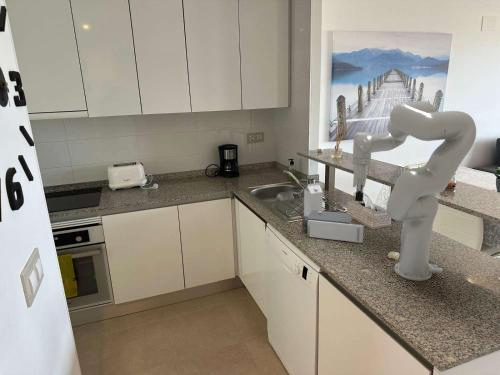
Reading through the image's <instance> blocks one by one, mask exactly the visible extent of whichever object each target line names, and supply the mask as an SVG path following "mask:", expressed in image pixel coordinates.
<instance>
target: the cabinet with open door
mask: <svg viewBox="0 0 500 375" xmlns="http://www.w3.org/2000/svg"><path fill="white" fill-rule="evenodd" d="M352 214H353V213H350V212H349V213H348V212H338V211H335V212H334V211H325V210H322V211H316V210H312V211H311V213H310V215H309V216H304V215H303V217H302V222H301V225H302V226H301V227H302V229H304V230H305V229H306V236H307V237H308V220H314V221H324V222H334V223H344V224H352V220H353V218H352V217H353V215H352Z"/></svg>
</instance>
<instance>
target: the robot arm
mask: <svg viewBox="0 0 500 375" xmlns="http://www.w3.org/2000/svg"><path fill="white" fill-rule="evenodd" d="M408 136H409V137H413V138H415V139H417V140H420V141H424V142H430V141H431V142H432V141H440V140H441V141H442V140H443V141H442V143H441V144H439V145H438V146H437V147H436V148H435V150H434V151H433V152H432V153H431V155H430V157H429V159H428V160H427V162H426V164H425V165H423V166H420V167H414V168H408V169H406V170H405V171H403V172H402V173H401V174H400V175H399V177H398V178H397V180H396V182H395V184H394V186H393V188H392V189H391V192H390V194H389V196H388V198H387V201H386V212H387V214H388V216H389V218H390V219H391V220H394V221H397V222H403V224H402V230H401V232H402V233H401V241H400V251H399V262H398V263H395V265H394V269H393V270H394V272H395V273H396V274H397V275H398V276H399V277H402V278H404V279H406V280H409V281H410V280H411V281H415V282H416V281H418V282H422V281H427V280H429V279H431V277H432V275H433V273H437V274H443V267H439V266H438V264H431V263H430V261H429V260H430V249H431V242H432V236H433V227H434V222H435V219H436V216H437V213H438V210H439V200H438V197H437V195H438V194H440V193H443V192H444V191H445V189H446V188H447V187H448V185H449V183H450V182H451V181H452V179H453V177H454V175H455V174H456V172H457V171H458V169H459V167H460V165H461V163H462V162H463V160H464V159H465V158H466V156H468V153H469V152H470V151H471V149H472V147H473V146H474V144H475V141H476V139H477V138H476V137H477V127H476V123H475V120H474V118H472V116H471V115H469V113H466V112H464V111H459V110H449V111H448V110H446V111H445V110H444V111H436V108H435V106H434V105H433V104H432V103H430V102H428V101H423V100H422V101H421V100H419V101H417V100H416V101H403V102H400V103H398V104H396V105H395V106H394V107H393V108H392V110H391V112H390V114H389V121H388V123H387V131H386V132H378V133H377V132H376V133H372V132H370V131H356V132H355V133H354V135H353V146H352V148H353V149H352V165H354V166H353V167H354V168H353V179H352V188H355V189H356V191H355V200H354V201H355V202H360V203H361V202H363V201H364V188H365V187H366V186H365V185H366V183H367V177H368V166H370V165H371V162H372V154H373V153H377V152H378V153H380V152H390V151H392V150H393V149H396V148H398V147H400V146H402V145H403V144H404V143H406V140H407V138H408Z"/></svg>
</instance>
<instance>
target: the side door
mask: <svg viewBox="0 0 500 375" xmlns="http://www.w3.org/2000/svg"><path fill="white" fill-rule="evenodd" d="M307 237H310V238H318V239H325V240H326V239H327V240H336V241H343V242H345V241H346V242H352V243H360V244H362V243H363V239H364V225H363V224H353V223H351V224H344V223H334V222H324V221H314V220H308V236H307Z"/></svg>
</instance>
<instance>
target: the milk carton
mask: <svg viewBox="0 0 500 375" xmlns="http://www.w3.org/2000/svg"><path fill="white" fill-rule="evenodd" d="M323 193H324V192H323V189H322V187H321V185H320V182H317V183H316V182H315V183H308V184H307V186H306V187H305V189H304V190H303V217H304V216H309V215H310V213H311V211H312V210H316V211H323V200H324V199H323V198H324V194H323Z"/></svg>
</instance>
